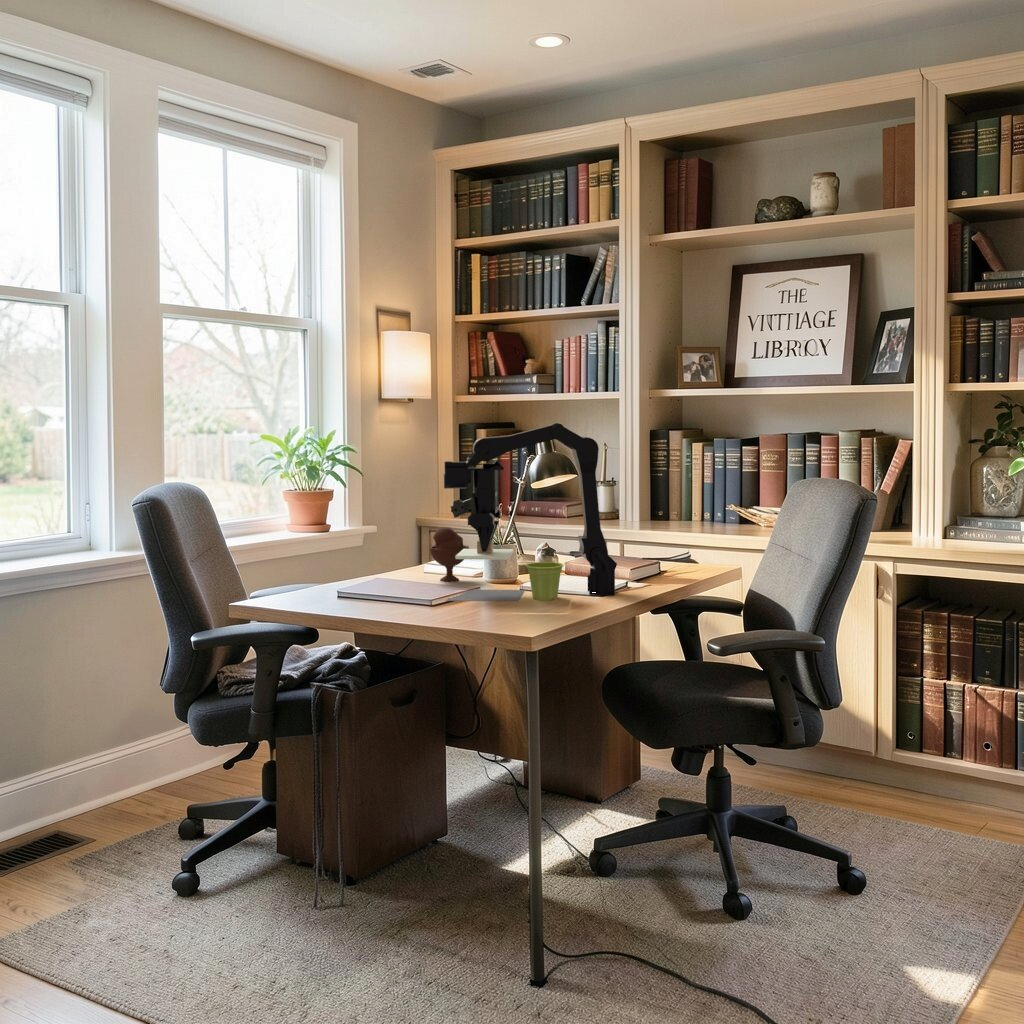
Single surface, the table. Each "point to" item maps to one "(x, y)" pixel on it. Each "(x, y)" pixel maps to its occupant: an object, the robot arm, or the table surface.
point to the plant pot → (544, 579)
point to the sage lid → (485, 553)
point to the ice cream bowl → (447, 551)
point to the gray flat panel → (489, 595)
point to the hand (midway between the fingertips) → (485, 550)
